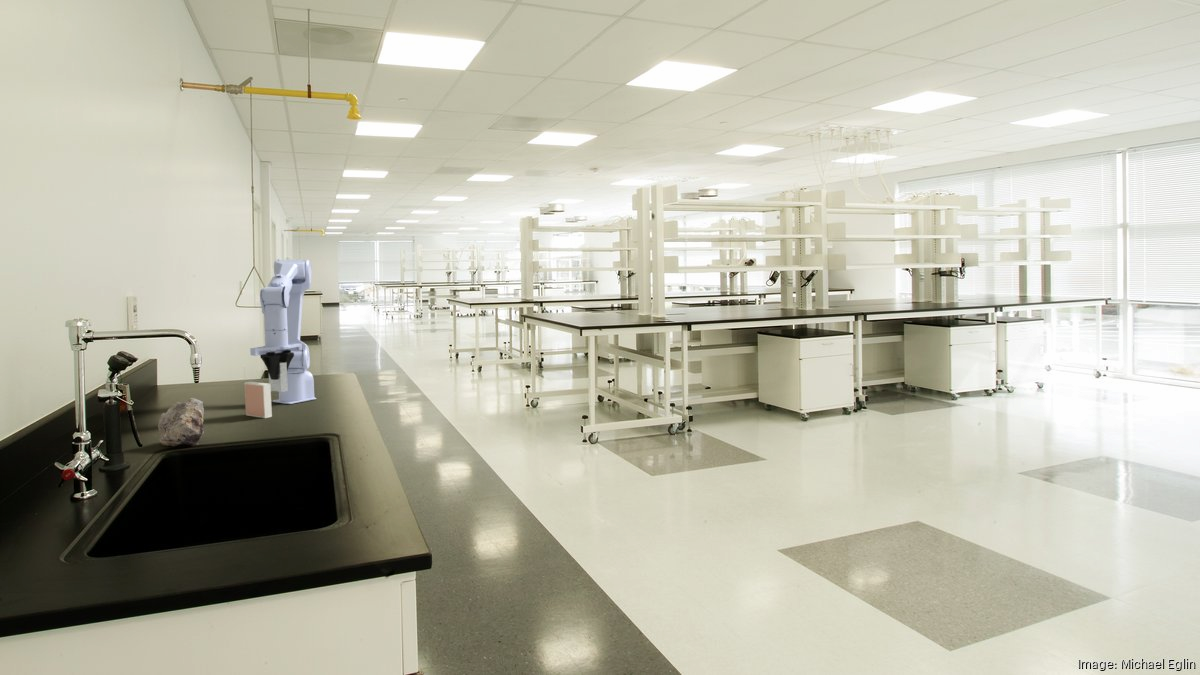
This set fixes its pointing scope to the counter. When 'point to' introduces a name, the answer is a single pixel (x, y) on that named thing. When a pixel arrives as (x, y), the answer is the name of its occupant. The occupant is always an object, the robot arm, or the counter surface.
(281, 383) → the pale grey upright block
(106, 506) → the counter surface
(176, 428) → the rock
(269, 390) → the tile
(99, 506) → the counter surface
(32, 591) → the counter surface
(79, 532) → the counter surface
